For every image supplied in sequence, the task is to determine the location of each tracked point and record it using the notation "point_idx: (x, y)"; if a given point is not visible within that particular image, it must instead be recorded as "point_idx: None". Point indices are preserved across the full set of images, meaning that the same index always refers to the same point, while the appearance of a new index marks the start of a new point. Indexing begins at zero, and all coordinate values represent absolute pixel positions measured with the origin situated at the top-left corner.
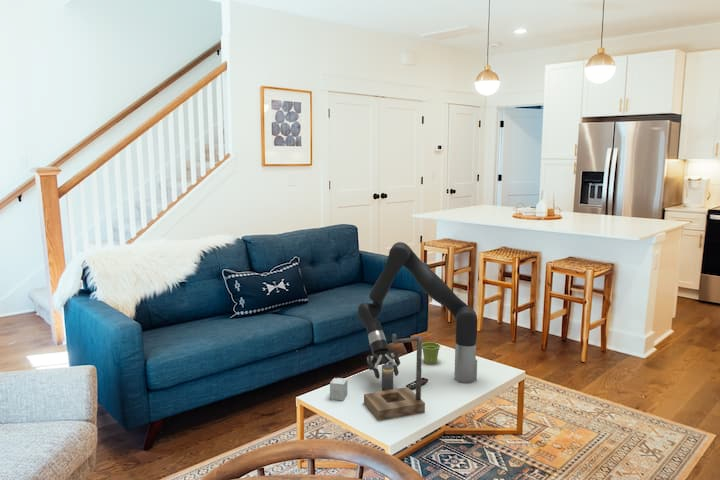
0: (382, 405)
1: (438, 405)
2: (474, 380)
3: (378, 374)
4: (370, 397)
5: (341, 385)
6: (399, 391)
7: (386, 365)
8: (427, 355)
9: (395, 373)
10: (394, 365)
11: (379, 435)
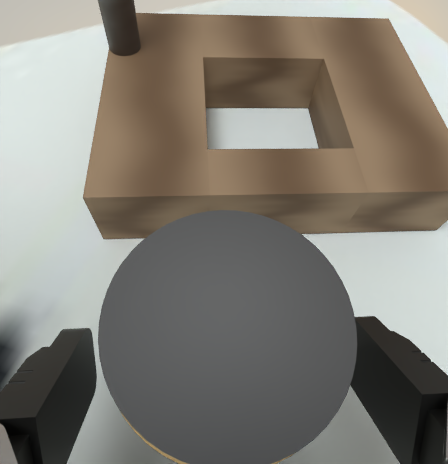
0: (360, 47)
1: (9, 94)
2: None
3: (377, 329)
4: (428, 134)
5: None
6: (192, 152)
7: (240, 374)
8: None
9: (86, 368)
10: (10, 447)
11: (376, 2)
